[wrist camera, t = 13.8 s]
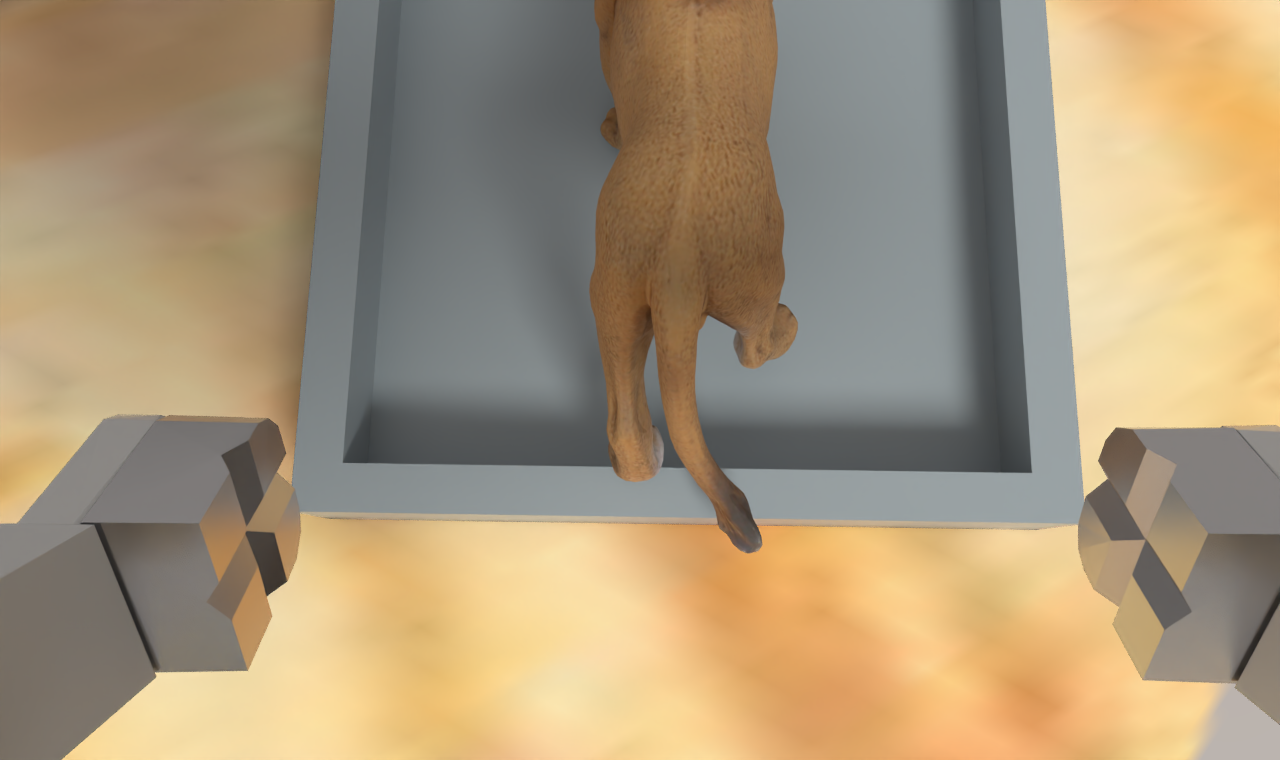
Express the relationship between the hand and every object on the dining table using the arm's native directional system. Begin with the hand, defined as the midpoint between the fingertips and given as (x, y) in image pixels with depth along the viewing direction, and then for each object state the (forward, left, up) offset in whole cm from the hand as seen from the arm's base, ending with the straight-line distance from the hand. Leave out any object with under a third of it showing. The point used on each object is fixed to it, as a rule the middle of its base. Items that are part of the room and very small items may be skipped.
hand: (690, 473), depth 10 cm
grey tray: (0, +9, -12) cm, 15 cm away
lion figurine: (0, +7, -11) cm, 13 cm away
